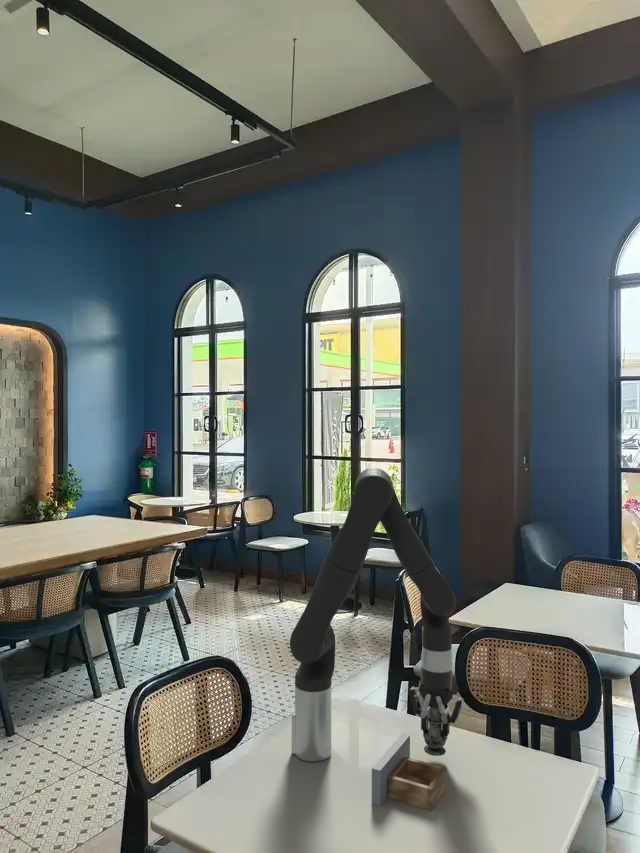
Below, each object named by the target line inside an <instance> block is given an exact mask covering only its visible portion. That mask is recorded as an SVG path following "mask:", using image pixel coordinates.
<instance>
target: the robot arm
mask: <svg viewBox="0 0 640 853" xmlns="http://www.w3.org/2000/svg"><path fill="white" fill-rule="evenodd" d="M354 483H355V484H354V489H353V493H352V494H353V495H352V497H351V498H352V499H351V502H350V506H349V508H348V512H347V515H346V518H345V521H344V523H343V525H342V526H341V529H340V530H339V531H338V533H337V534H336V536H335V538H334V540H333V541H332V543H331V544H330V546H329V549H328V550H327V553H326V555H325V557H324V560H323V562H322V564H321V567H320V571H319V572H318V575H317V578H316V581H315V583H314V586H313V589H312V590H311V594H310V596H309V598H308V599H309V600H308V602H307V604H306V606H305V608H304V610H303V612H302V614H301V616H300V618H299V619H298V621H297V623H296V625H295V626H294V629H293V630H292V632H291V635H290V638H289V649H290V653H291V655H292V656H293V658H294V659H295V660H296V661H297V662H299V663H300V664H299V666H298V668H297V670H296V672H295V676H294V713H293V714H291V751H290V752H291V754H294V755H295V756H296V757H297V758H298V759H299V760H302V761H305V762H314V763H315V762H321V761H324V760H326V759H328V758H329V757H330V756H331V754H332V679H333V676H334V673H335V672H334V671H335V665H336V664H335V663H336V635H335V631H334V628H333V627H332V625H331V622H332V620H333V619H334V617H335V616H336V614H337V613H338V611H339V609H340V608H341V607H342V605H343V604H344V603H345V601H346V599H348V596H350V594H351V592H352V590H353V589H354V587H355V586H356V583H357V581H358V579H359V576H360V574H361V572H362V569H363V566H364V564H365V560H366V559H367V558H366V557H367V555H368V552H369V549H370V544H371V541H372V539H373V535H374V533H375V531H376V528H377V527H378V525H379V523H381V525H382V527H383V528H384V530H385V532H386V535H387V537H388V539H389V542H390V544H391V546H392V548H393V551H394V553H395V555H396V558H397V559H398V561H399V564H400V565H401V566H402V567H403V570H404V572H405V573H406V574H407V577H408V578H409V580H410V581H412V583H414V585H415V586H416V587H417V589H418V591H419V593H420V596H419V598H420V599H419V602H420V604H419V605H420V612H421V621H422V627H423V628H422V648H421V649H422V650H421V657H420V659H421V660H420V685H419V687H416V686H414V685H413V686H411V688H410V689H409V690H408V696H409V699H410V704H411V706H412V710H413V713H414V714H415V715H418V716H419V717H420V730H421V731H422V734H423V733H425V734H426V733H427V732H428V730H429V721H428V718H430V715H429V714H430V707H436V708H438V709H439V711H440V714H441V715H442V717H441V719H442V720H443V723H442V738H444V739H445V738H446V737H447V738H448V736H449V734H450V728H451V726H450V725H451V724H455V723H456V722H457V720H458V718H459V716H460V713H461V710H462V708H463V704H464V702H465V698H464V697H462V696H460V697H458V696H457V695H456V694H455V693H454V691H453V665H454V662H453V653H452V652H453V651H452V650H453V649H452V643H453V642H452V641H453V639H452V638H453V636H452V634H453V632H452V631H453V630H452V627H451V624H450V622H449V619H448V618H449V616H450V615H451V614H453V612H454V611H455V609H456V605H457V600H456V595H455V593H454V591H453V590H452V588H451V586H450V585H449V583H448V582H447V581H446V580H445V578H444V577H443V575H442V574H441V572H439V570H438V568H437V566H436V564H435V562H434V561H433V558H432V556H431V555H430V554H429V552H428V550H427V548H426V547H425V545H424V544H423V542H422V541H421V539H420V537H419V536H418V534H417V532H416V531H415V529H414V527H413V526H412V523H411V522H410V521H409V519H408V517H407V515H406V513H405V511H404V510H403V508H402V505H401V503H400V501H399V498H398V496H397V493H396V490H395V489H394V488H395V487H394V483H393V481H392V478H391V476H390V475H389V473H387V472H386V471H384V470H383V469H381V468H378V467H368V468H365V469H364V470H361V472H360V473H359V474H358V476H357V478H356V481H355V482H354ZM419 696H421V698H422V699H423V701H424V702H423V705H422V704H421V701H420V698H419ZM450 701H452V704H453V707H454V708H453V711H452V714H450V706H449V702H450Z"/></svg>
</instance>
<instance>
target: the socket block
mask: <svg viewBox="0 0 640 853" xmlns="http://www.w3.org/2000/svg"><path fill="white" fill-rule="evenodd" d="M446 788H447V767H444V766H440V765H437V764H433V763H430V762H425V761H422V760H418V759H415V758H411V757H410V758H408V757H404V759H403V760H402V761H401V762H400V764H399V765H398V766H397V767H396V769H395V770H394V771H393V772H392V774H391V775H390V776H389V777H388V797H387V798H389V799H393V800H396V801H399V802H402V803H405V804H408V805H412V806H414V807H415V806H416V807H418V808H422V809H425V810H429V811H433V810H434V808H435V806H436V804H437V803H438V801H439V800H440V798H441V796H442V795H443V793H444V792H445V790H446Z"/></svg>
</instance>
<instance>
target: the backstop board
mask: <svg viewBox="0 0 640 853" xmlns="http://www.w3.org/2000/svg"><path fill="white" fill-rule="evenodd" d="M404 757H408V758H411V735H410V734H406V733H403V732H402V733H401V734H400V735H399V736H398V737H397V739H396V740H395V741H394V742H393V743H392V744H391V746H389V748H388V749H387V750H386V751H385V752H384V753H383V755H382V756H381V757H380V758H379V759H378V760H377V761H376V763H375V764H374V765H373V766H372V767H371V805H374V806H376V807H382V805H383V803H384V802H385V801H386V800H387V799H388V798H389V797H388V777H389V776H390V775H391V774H392V772H393V771H394V770H395V769H396V767H397V766H398V765H399V764H400V762H401V761H402V760H403V759H404Z"/></svg>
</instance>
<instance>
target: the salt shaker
mask: <svg viewBox="0 0 640 853" xmlns="http://www.w3.org/2000/svg"><path fill="white" fill-rule="evenodd" d="M428 721H429V730H428V732H427V733H426V734H425V733H423V732H422V736H423V738H424V742H425V744H426V745H425V746H424V748H423V750H424V752H425V753H426V754H427V755H429V756H432V757H433V756H435V757H440V756H444V755H445V754H446V753H447V750H446V749H445V747H444V746H445V744H446V742H447V740H448V736H447V737H446V738H445V739H444V738H442V723H443V720H442V715H441V714H440V711H439V709H438V708H436V707H430V709H429V718H428Z"/></svg>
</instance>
